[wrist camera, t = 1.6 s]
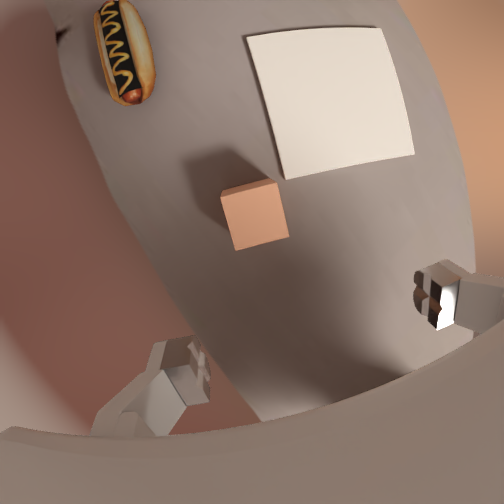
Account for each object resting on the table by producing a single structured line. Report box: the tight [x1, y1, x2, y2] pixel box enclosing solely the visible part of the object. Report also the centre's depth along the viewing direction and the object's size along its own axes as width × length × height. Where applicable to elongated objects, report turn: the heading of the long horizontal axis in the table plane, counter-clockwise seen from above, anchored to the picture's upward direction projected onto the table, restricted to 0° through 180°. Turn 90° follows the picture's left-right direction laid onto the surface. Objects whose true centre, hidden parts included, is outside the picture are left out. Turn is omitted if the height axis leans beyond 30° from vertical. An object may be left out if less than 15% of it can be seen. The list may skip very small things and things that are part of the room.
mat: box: [246, 28, 415, 180], centre depth 26 cm, size 16×16×1 cm
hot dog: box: [94, 0, 156, 106], centre depth 21 cm, size 5×13×5 cm, turn 17°
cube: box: [220, 178, 289, 251], centre depth 27 cm, size 5×5×5 cm
